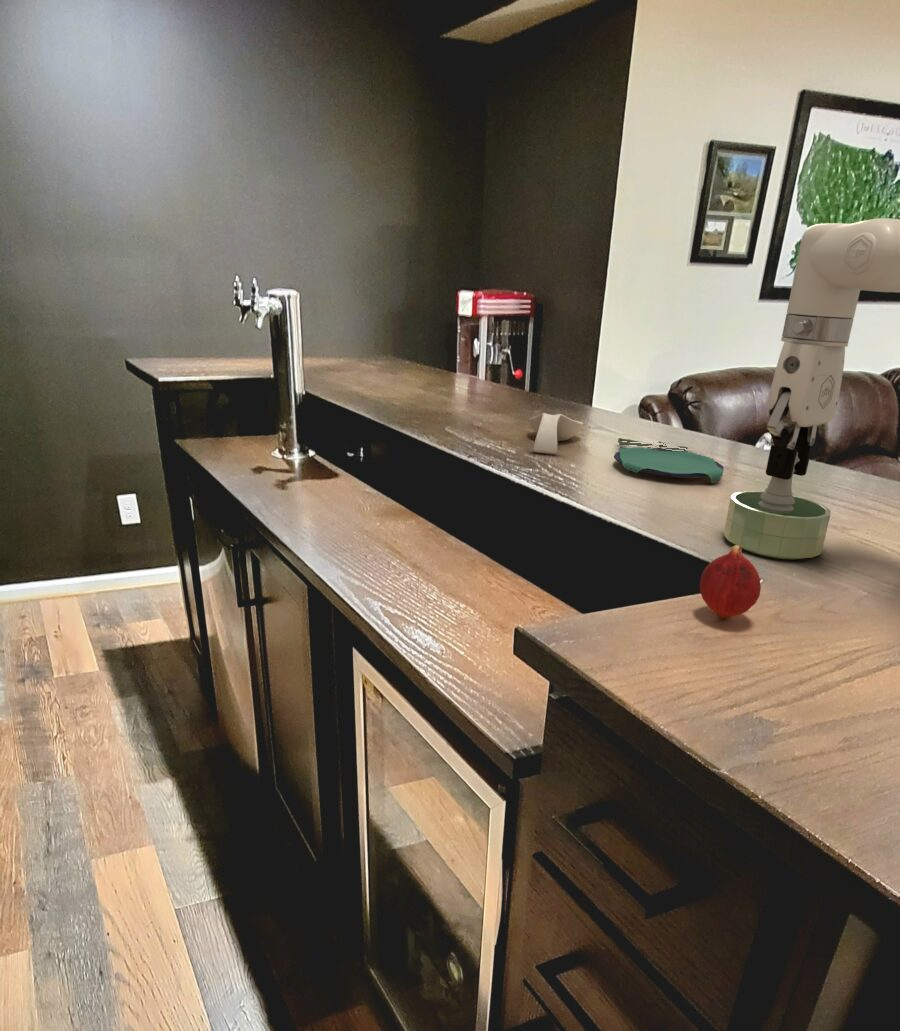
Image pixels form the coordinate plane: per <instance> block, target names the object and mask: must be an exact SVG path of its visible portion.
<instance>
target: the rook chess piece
mask: <svg viewBox="0 0 900 1031" xmlns="http://www.w3.org/2000/svg"><path fill="white" fill-rule="evenodd" d="M799 461H800V460H799V458H798V452H797V454H796V459H795V463H794V466H795V464H796V463H797V462H799ZM794 472H795V469H794V468H793V472H792V477H791V479H789V480H785V479H781V478H777V477H773V476H771V477H770V480H769V483H768V485H767V487H766V488H765V489H764V491H765V492H764V493H762V494H761V496H760V498H761V499H762V501H760V502H758V504H759V506H760V508H761V509H763V510H765V511H768V512H773V513H779V514H787V513H790V512H791V511H792V510H794V508H793V507H792V506H791V505H793V504H794V503H795V499H794V498H793V496H792V495H794V493H793V489H792V486H793V485H792V484H793V476H794V474H793V473H794Z"/></svg>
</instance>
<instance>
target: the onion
mask: <svg viewBox="0 0 900 1031" xmlns="http://www.w3.org/2000/svg"><path fill="white" fill-rule="evenodd" d="M742 550H743V549H742V548H740V547H739V546H737V545H735V544H734V546H731V549H730V551H729V552H728V553H727V554H724V555H723V554H722V555H721V556H718V557H716V558H715V559H713V560H712V561H710V562H709V563H708V564H707V565H706V566H705V568H704V569H703V571H702V573H701V576H700V581H699V593H700V595H701V597H702V600H703V602H704V603H705V605H706V606H707V608H709V609H710V610H711V611H712V612H713V613H714V614H715V615H716V616H717V617H718V618H719V619H722V620H728V619H732V618H733V617H737V616H740V615H743V614H745V613H747V612H748V611H749V610H750V609H751V608H752V607H753V606H754V605H755V604H757V602H758V600H759V598H760V594H761V589H762V586H761V578H760V575H759V572H758V570H757V568H756V566H755V565H754V564H753V563H752V562H751V561H750V560H749V559H748V558H747V557H745V556H744V554H743V553H742Z"/></svg>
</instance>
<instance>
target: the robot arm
mask: <svg viewBox="0 0 900 1031" xmlns="http://www.w3.org/2000/svg"><path fill="white" fill-rule="evenodd" d="M799 244H800V245H799V250H798V254H797V258H796V265H795V269H794V273H793V279H792V284H791V289H790V295H789V300H788V303H787V309H786V310H787V311H786V314H785V320H784V324H783V329H782V334H781V339H780V341H781V342H783V345H782V348H781V350H780V354H779V356H778V360H777V363H776V367H775V371H774V374H773V378H772V382H771V387H770V391H769V396H768V401H767V407H766V417H767V418H768V421H767V424H766V429H767V430H768V431H769V433H770V436H771V437H770V441H769V444H770V449H769V453H768V459H767V463H766V468H765V474H766V476H769V477H772V476H773V477H777V478H781V479H785V480H789V479H791V477H792V472H793V468H794V469H795V472H794V473H793V475H796V476H801V477H803V476H805V475H806V474H807V472H808V468H809V467H808V466H809V464H810V463H809V462H810V458H811V454H812V453H811V452H812V449H813V445H814V444H815V441H816V436H817V431H819V429H820V426H821V425H825V424H828V423H830V422H831V421H833V420H834V418H835V417H836V414H837V410H838V403H839V400H840V398H839V397H840V393H841V388H842V382H843V374H844V368H845V358H846V347H848V346H849V340H850V336H851V332H852V328H853V323H854V318H855V316H856V310H857V306H858V301H859V298H860V293H861V291H867V292H868V291H869V292H879V293H899V294H900V218H899V219H898V218H891V217H879V218H878V217H877V218H871V219H866V220H861V221H857V222H853V223H844V222H843V223H840V222H829V223H828V222H827V223H826V222H825V223H816V224H813V225H810V226H809V227H807V229H806V230H804V232H803V234H802V236H801V240H800V243H799ZM786 420H791V421H792V422H786ZM789 429H790V432H789ZM797 452H798V458H799V460H800V461H799V462H797V463H796V464H795V466H794V463H795V459H796V454H797ZM792 478H793V477H792Z"/></svg>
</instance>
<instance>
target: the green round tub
mask: <svg viewBox="0 0 900 1031" xmlns="http://www.w3.org/2000/svg"><path fill="white" fill-rule="evenodd" d="M764 492H765V490H740V491H737V492H733V493H732V494H731V496H730V498H729V503H728V510H727V513H726V520H725V524H724V529H723V536H724V537H725V538H726V540H727V541H728V542H730V543H731V544H734V546H735V545H737V546H739V547H740V548H741V549H742V550H744V551H747V552H748V553H752V554H755V555H759V556H761V557H766V558H771V559H777V560H778V559H780V560H803V559H808V558H809V559H810V558H815V557H817V556H820V555H822V553H823V549H824V543H825V539H826V536H827V532H828V527H829V523H830V518H831V509H830V508H828V507H827V506H825V505H824V504H822V503H819V502H817V501H814V500H813V499H809V498H805V497H801V496H798V495H794V494H793V495H792V496H793V498H794V499H795V503H794V504H793V505H791V506H792V507H793V508H794V510H792V511H791V512H790V513H787V514H779V513H773V512H768V511H765V510H763V509H761V508H760V506H759V504H758V502H760V501H762V499H761V498H760V496H761V494H762V493H764Z"/></svg>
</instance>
